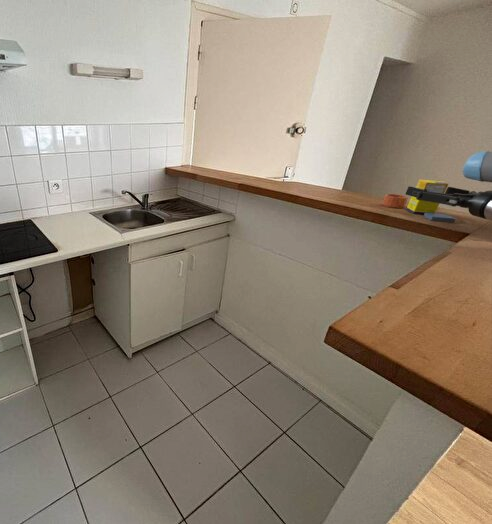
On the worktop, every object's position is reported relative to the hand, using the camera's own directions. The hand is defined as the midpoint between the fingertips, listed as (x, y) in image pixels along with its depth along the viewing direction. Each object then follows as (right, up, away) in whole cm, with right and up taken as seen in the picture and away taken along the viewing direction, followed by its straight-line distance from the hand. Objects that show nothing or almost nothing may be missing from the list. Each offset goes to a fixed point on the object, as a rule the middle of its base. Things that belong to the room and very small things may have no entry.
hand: (427, 190), depth 97 cm
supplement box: (0, -7, +3) cm, 8 cm away
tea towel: (-1, -11, -4) cm, 12 cm away
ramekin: (-3, -3, +10) cm, 11 cm away
